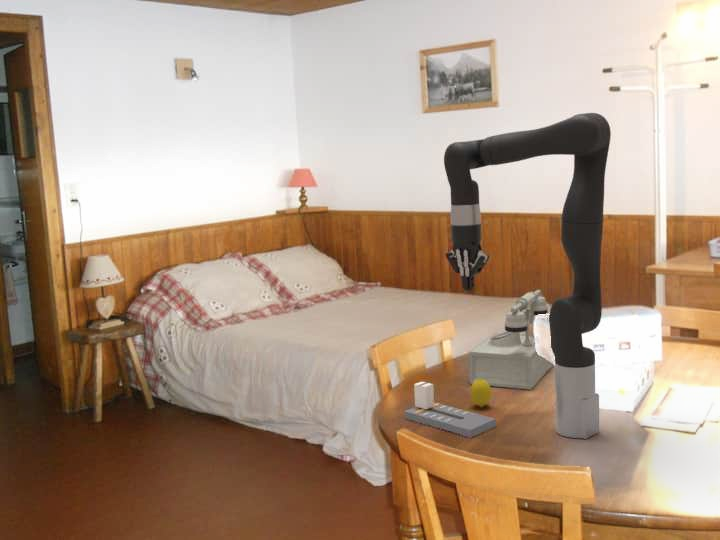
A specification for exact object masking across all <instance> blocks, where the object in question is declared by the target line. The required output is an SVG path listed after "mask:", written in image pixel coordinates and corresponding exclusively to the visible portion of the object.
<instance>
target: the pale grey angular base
mask: <svg viewBox="0 0 720 540" xmlns="http://www.w3.org/2000/svg"><path fill="white" fill-rule="evenodd" d="M546 313H549V314H550V311H549V310H548V305H547V301H546V297H545V296H543V294H542V291H541V289H537V290H535V291H528V292H526V293H525V294H524V295H523V296H521V297H519V298H518V299H517V300H516V301H515V305H514V306H512V307H511V308H510V311H507V313H506V314H505V321H504V331H500V332H494V333H492V334H491V335H489V336H488V337H487V338H485V339H484V340H482V341H481V342H480V343H478V344H476V346H474V347H473V348H472V349H471V350H469V351H468V356H469V357H468V360H469V363H468V365H469V384H470V385H472V384H473V383H474V382H475V381H476V380H478V379H479V378H482V379H483V380H485V381H487V382H488V383H489V385H490V387H501V388H511V389H519V390H530V391H531V390H532V389H533V388H534V387H535V386H536V385H537V384H538V383H539V382H540V380H542V378H543V377H544V376H546V374H547V373H548V372H549V371H550V370H551V369H552V367H553V363H552V364H551V363H550V362H549V361H547V360H546V359H545V358H543V357H541V356H539V355H538V354H537V352H536V349H535V342H534V335H535V334H530V331H529V329H530V328H529V325H530V324H533V323H534V317H535V316H539V315H538V314H546ZM524 332H525V334H521V333H524ZM550 368H551V369H550ZM549 369H550V370H549ZM548 370H549V371H548ZM547 371H548V372H547ZM546 372H547V373H546Z"/></svg>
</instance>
